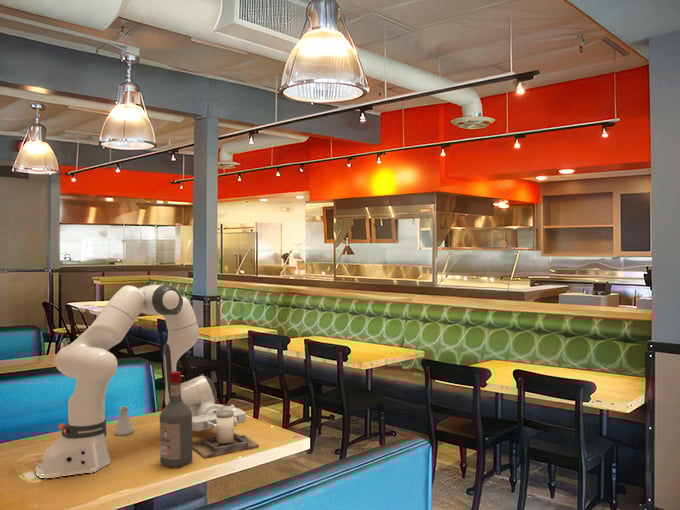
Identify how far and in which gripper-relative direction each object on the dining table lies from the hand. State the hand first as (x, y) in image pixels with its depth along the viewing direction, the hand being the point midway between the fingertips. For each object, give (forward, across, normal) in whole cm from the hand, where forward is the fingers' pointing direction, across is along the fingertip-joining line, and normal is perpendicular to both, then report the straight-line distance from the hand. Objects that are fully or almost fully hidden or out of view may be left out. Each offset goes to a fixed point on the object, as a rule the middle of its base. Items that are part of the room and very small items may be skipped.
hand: (226, 425), depth 213 cm
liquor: (+4, -19, +8) cm, 21 cm away
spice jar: (-1, 0, +6) cm, 6 cm away
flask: (-39, -26, +8) cm, 48 cm away
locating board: (-1, 0, +8) cm, 8 cm away
